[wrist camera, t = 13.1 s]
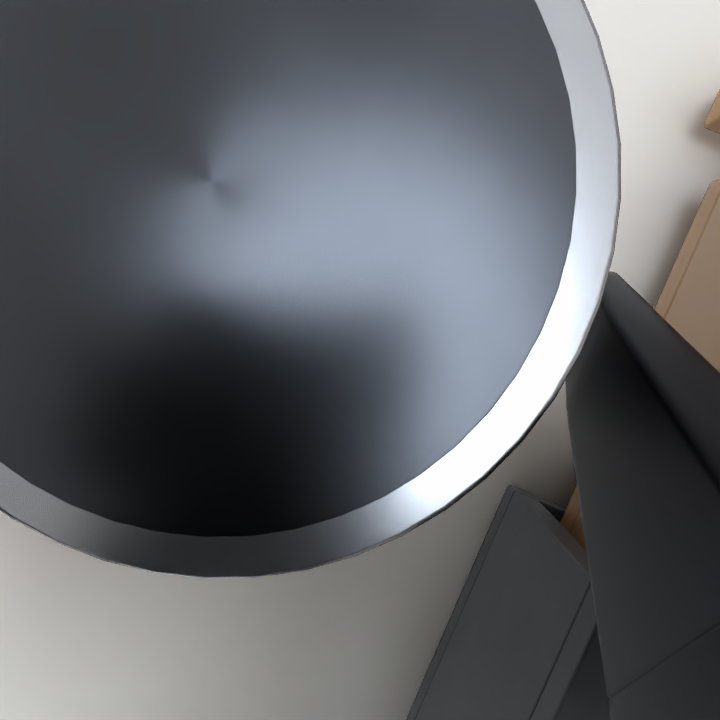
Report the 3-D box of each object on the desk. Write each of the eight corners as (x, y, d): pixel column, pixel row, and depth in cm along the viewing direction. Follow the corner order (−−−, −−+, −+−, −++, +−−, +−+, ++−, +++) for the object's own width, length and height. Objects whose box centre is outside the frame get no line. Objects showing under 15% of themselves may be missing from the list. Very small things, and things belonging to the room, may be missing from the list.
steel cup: (487, 358, 16) (738, 425, 5) (248, 445, 16) (-11, 691, 5) (399, 113, 16) (459, -387, 5) (157, 206, 16) (-318, -63, 5)
